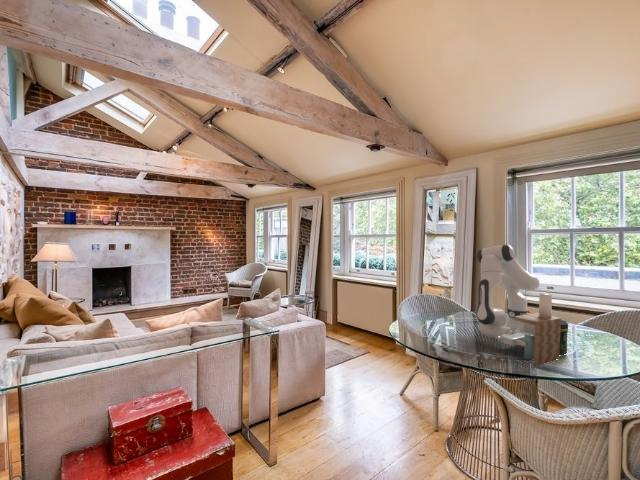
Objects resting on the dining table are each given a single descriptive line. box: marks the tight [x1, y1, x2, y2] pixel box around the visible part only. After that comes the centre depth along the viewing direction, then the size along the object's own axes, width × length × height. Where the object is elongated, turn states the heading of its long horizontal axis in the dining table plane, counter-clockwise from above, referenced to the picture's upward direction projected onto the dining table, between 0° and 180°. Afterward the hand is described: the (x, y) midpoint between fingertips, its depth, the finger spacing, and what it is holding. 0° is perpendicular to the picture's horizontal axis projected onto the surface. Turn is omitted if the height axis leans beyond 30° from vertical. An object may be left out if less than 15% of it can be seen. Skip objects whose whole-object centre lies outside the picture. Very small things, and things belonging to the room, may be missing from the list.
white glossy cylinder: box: [538, 292, 553, 318], centre depth 168 cm, size 5×5×12 cm
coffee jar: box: [559, 319, 569, 356], centre depth 175 cm, size 10×8×19 cm
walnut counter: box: [514, 312, 562, 366], centre depth 167 cm, size 20×12×22 cm, turn 117°
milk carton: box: [520, 313, 535, 348], centre depth 186 cm, size 7×7×19 cm
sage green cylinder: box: [523, 334, 535, 360], centre depth 169 cm, size 5×5×12 cm
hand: (532, 342), depth 168 cm, fingers open, 8 cm apart
